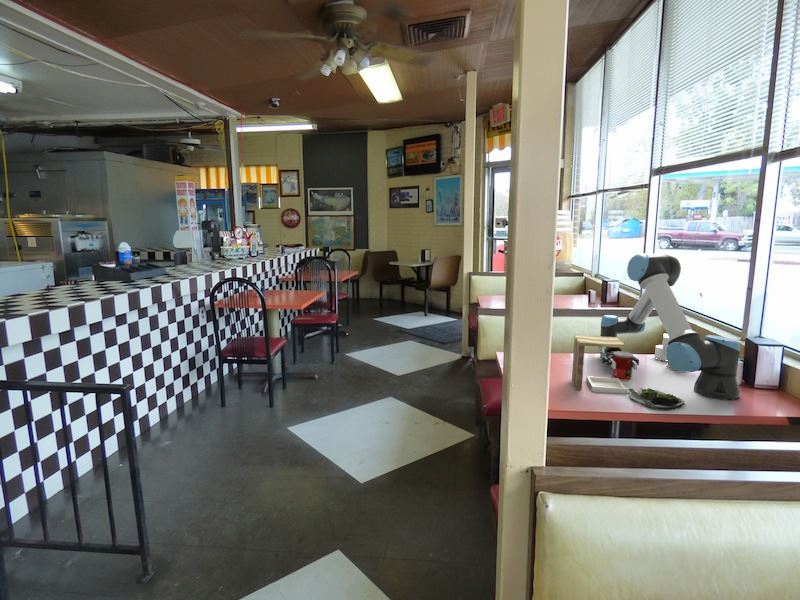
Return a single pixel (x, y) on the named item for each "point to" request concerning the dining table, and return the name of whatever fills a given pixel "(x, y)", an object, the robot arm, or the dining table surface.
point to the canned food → (622, 365)
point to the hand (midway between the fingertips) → (625, 366)
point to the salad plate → (656, 399)
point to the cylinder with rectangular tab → (662, 348)
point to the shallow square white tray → (606, 384)
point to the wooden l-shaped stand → (579, 353)
